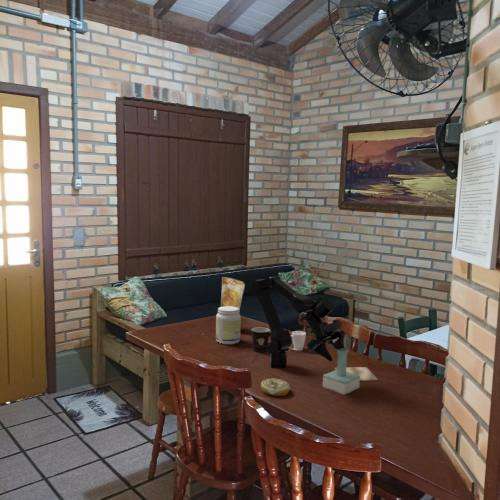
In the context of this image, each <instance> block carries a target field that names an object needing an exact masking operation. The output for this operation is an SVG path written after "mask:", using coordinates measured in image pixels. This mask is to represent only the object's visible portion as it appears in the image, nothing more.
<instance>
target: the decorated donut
mask: <svg viewBox="0 0 500 500" xmlns="http://www.w3.org/2000/svg"><path fill="white" fill-rule="evenodd" d="M260 387H261V390H262V392H263V393H264V394H266V395H268V396H272V397H282V396H286V395H288V394H289V392H290V389H291V387H290V384H289V383H288V382H287V381H286V380H283V379H281V378H272V377H271V378H267V379H264V380H262V381H261V383H260Z"/></svg>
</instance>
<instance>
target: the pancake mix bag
mask: <svg viewBox="0 0 500 500" xmlns="http://www.w3.org/2000/svg"><path fill="white" fill-rule="evenodd" d="M245 287H246V284H245V282H244V281H242V280H239V279H236V278H233V277H227V276H223V277H221V294H220V295H221V297H220V307H224V306H232V307H237V308H239V312H240V310H241V304H242V300H243V295H244V292H245Z"/></svg>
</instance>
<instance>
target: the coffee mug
mask: <svg viewBox="0 0 500 500" xmlns="http://www.w3.org/2000/svg"><path fill="white" fill-rule="evenodd" d="M270 337H271V329H270V328H268V327H260V326H259V327H253V328H251V338H252V339H251V340H252V350H253V351H254V352H255V353H261V354H262V353H266V352H267V346H269V345H270V344H271V341H270V342H269V338H270Z"/></svg>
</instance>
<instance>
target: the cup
mask: <svg viewBox="0 0 500 500" xmlns="http://www.w3.org/2000/svg"><path fill="white" fill-rule="evenodd" d="M290 336H291V337H292V344H293V348H292V347H291V346H290V347H289V349H291V350H293V351H298V352H302V351H303V348H304V345H305V342H306V337H307V333H306V332H305V331H301V330H295V331H292V332H291V334H290Z"/></svg>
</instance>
